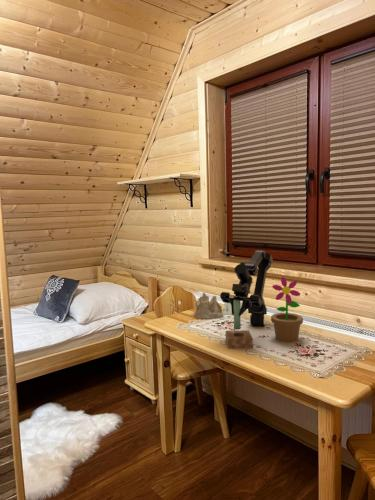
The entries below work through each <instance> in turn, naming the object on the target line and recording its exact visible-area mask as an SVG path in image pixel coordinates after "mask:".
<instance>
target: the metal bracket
mask: <svg viewBox="0 0 375 500" xmlns="http://www.w3.org/2000/svg"><path fill="white" fill-rule="evenodd" d="M223 303H224V302H223ZM241 306H242V302H240V309H241ZM223 308H224V310H222V313H223V315H232V308H231V304H230V303H224V307H223ZM242 315H245V316H246V315H248V310H246V311H245V312H244V313H243V314H242ZM242 315H241V316H242Z"/></svg>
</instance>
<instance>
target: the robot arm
mask: <svg viewBox="0 0 375 500" xmlns="http://www.w3.org/2000/svg"><path fill="white" fill-rule="evenodd" d="M273 262H274V260H273V256H272V254H270V253H268V252H266V250H261V249H259V250H258V249H257V250H255V251H254V254H253V255H252V256H251V258H250V259H249V260H248V261H242V262H239V264H237V265H236V266H235V267H234V274H235V275H236V278H237V279H238V280H239V282H238V283H232V287H231V291H232V292H233V294H234V295H233V294H231V293H230V292H227V291H226V292H225V291H221V293H219V294H220V295H219V297H220V299H221V301H222V303H230V304H231V308H232V314H231V315H232V316H234V300H240V302H241V303H242V306H241V309H240V312H239V316H240V317H241V316H242V314H243V313H244V312H245V311H247V314H250V315H249V324H250V325H251V326H252V327H265V315H267V312H268V309H267V306H266V302H265V299H264V297H263V294H264V289H265V284H266V279H267V272H268V271H269V270H270V268H271V267H272V264H273ZM252 276H253V277H255V276H256V280H255V284H254V285H255V286H254V290H253V294H251V295H250V296H249V294H250V293H251V290H250V289H251V286H252V284H253V283H254V281H253V280H254V279H253V277H252Z"/></svg>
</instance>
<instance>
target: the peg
mask: <svg viewBox="0 0 375 500" xmlns="http://www.w3.org/2000/svg"><path fill="white" fill-rule="evenodd" d="M240 303H241V301H240V300H234V315H233V329H234V330H235V331H240V330H241V325H242V323H241V321H242V319H241V316H239V312H240Z"/></svg>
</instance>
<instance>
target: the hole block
mask: <svg viewBox="0 0 375 500" xmlns="http://www.w3.org/2000/svg"><path fill="white" fill-rule="evenodd" d="M225 342H226V346H227V349H235V348H239V349H240V348H243V349H244V348H247V349H249V348H254V339H253V336H252V334H251V331H250V330H248V329H247V330H246V329H245V330H225Z"/></svg>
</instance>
